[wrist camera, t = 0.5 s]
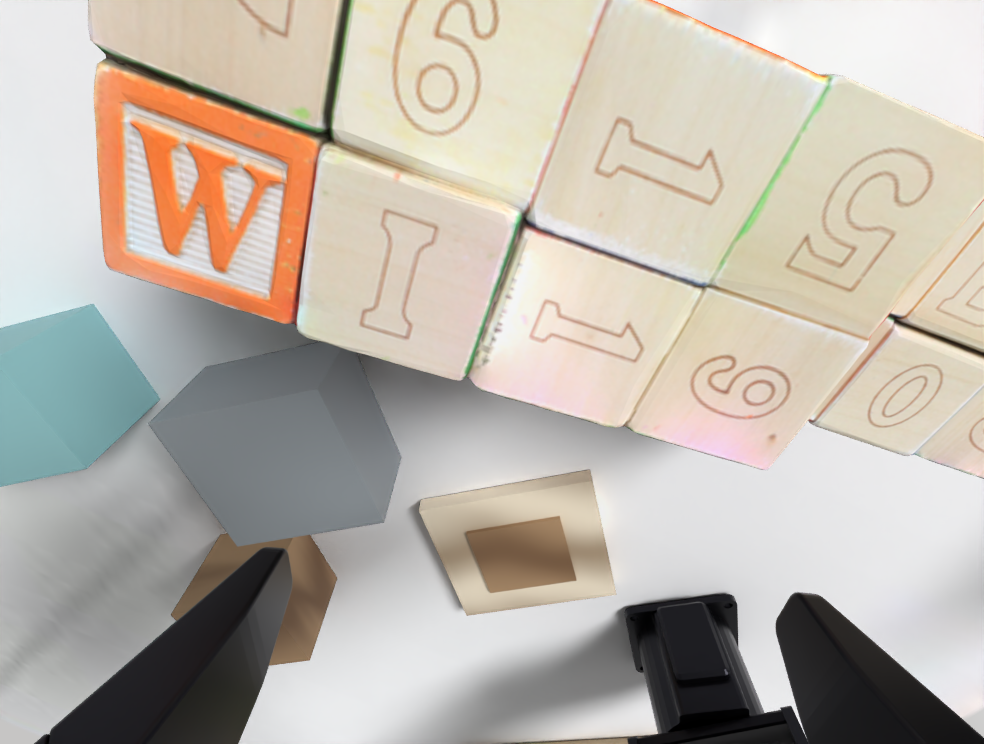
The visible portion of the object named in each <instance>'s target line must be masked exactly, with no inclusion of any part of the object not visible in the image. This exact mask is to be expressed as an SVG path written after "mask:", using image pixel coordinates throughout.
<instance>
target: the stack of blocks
mask: <svg viewBox="0 0 984 744" xmlns="http://www.w3.org/2000/svg"><path fill="white" fill-rule="evenodd" d="M88 27H89V34H90V40H91V41H92V42H93V43H94V44H95V45H97V46H98V47H99V48H100V49H101V50H102V51H103V52H104V53H105V54H106V59H104V60H103V61H101V62H99V63H98V64H97V69H96V75H95V85H94V109H95V122H96V140H97V159H98V178H99V193H100V208H101V223H102V238H103V250H104V257H105V262H106V265H107V266H108V268H109V269H110V270H113V271H116V272H119V273H122V274H125V275H128V276H131V277H134V278H137V279H140V280H144V281H147V282H150V283H154V284H157V285H160V286H164V287H167V288H170V289H173V290H177V291H180V292H183V293H187V294H190V295H193V296H197V297H200V298H203V299H206V300H209V301H212V302H215V303H218V304H221V305H224V306H227V307H230V308H233V309H238V310H241V311H245V312H248V313H251V314H254V315H257V316H261V317H264V318H267V319H270V320H273V321H276V322H280V323H283V324H287V323H295V325H296V326H297V330H298V331H299V333H301V334H302V335H304V336H305V337H306V338H309V339H313V340H317V341H321V342H325V343H328V344H331V345H334V346H337V347H340V348H343V349H346V350H349V351H353V352H357V353H362V354H366V355H369V356H372V357H375V358H379V359H382V360H385V361H388V362H392V363H395V364H398V365H402V366H405V367H408V368H412V369H415V370H419V371H423V372H426V373H430V374H434V375H437V376H441V377H444V378H448V379H452V380H458V381H460V380H463V379H465V378H470V380H471V382H472V383H473V384H474V385H475V386H476V387H478V388H479V389H480V390H481V391H485V392H490V393H494V394H496V395H499V396H502V397H505V398H508V399H512V400H516V401H520V402H524V403H528V404H531V405H534V406H538V407H541V408H544V409H547V410H551V411H555V412H559V413H562V414H566V415H569V416H573V417H576V418H579V419H583V420H586V421H589V422H593V423H596V424H599V425H603V426H606V427H614V428H615V427H622V426H626V427H627V428H629V429H630V430H632V431H633V432H635V433H638V434H640V435H644V436H647V437H651V438H654V439H658V440H661V441H664V442H668V443H671V444H675V445H678V446H682V447H685V448H689V449H692V450H695V451H699V452H702V453H705V454H709V455H712V456H716V457H719V458H723V459H726V460H730V461H734V462H737V463H741V464H745V465H748V466H751V467H754V468H758V469H761V470H768V469H769V468H770V467H771V465H772V464H773V463H774V462H775V460H776V459H777V458H778V457H779V455H780V454H781V453H782V452H783V450H784V449H785V448H786V447H787V446H788V444H789V443H790V442H791V441H792V439H793V438H794V437H795V436H796V434H797V433H798V432H799V431H800V430H801V428H802V427H803V426H804V425H805V423H806V422H807V421H809V422H810V423H811V424H813V425H815V426H817V427H820V428H823V429H825V430H828V431H831V432H834V433H837V434H840V435H843V436H846V437H849V438H852V439H855V440H858V441H861V442H864V443H867V444H870V445H873V446H876V447H879V448H882V449H886V450H889V451H892V452H895V453H898V454H901V455H904V456H910V455H914V454H915V455H917V456H919V457H922V458H924V459H927V460H929V461H932V462H935V463H938V464H941V465H944V466H947V467H950V468H954V469H956V470H959V471H962V472H965V473H967V474H970V475H975V476H977V477H980V478H983V479H984V137H982V136H980V135H977V134H975V133H973V132H971V131H968V130H966V129H964V128H961V127H959V126H957V125H955V124H952V123H950V122H948V121H946V120H943V119H941V118H939V117H937V116H934V115H932V114H930V113H927V112H925V111H923V110H920V109H918V108H915V107H913V106H911V105H908V104H906V103H903V102H901V101H899V100H896V99H894V98H892V97H890V96H887V95H885V94H883V93H881V92H878V91H876V90H874V89H872V88H869V87H867V86H865V85H863V84H860V83H858V82H856V81H854V80H851V79H849V78H847V77H845V76H841V75H834V74H816V73H814V72H812V71H810V70H808V69H806V68H804V67H802V66H800V65H798V64H796V63H793V62H791V61H789V60H787V59H785V58H783V57H781V56H779V55H776V54H774V53H772V52H769V51H767V50H765V49H763V48H760V47H758V46H756V45H754V44H751V43H749V42H747V41H744V40H742V39H740V38H738V37H735V36H733V35H731V34H728V33H726V32H723V31H721V30H718V29H716V28H713V27H711V26H709V25H707V24H705V23H703V22H701V21H698V20H696V19H694V18H692V17H690V16H688V15H685V14H683V13H681V12H679V11H676V10H674V9H672V8H670V7H667V6H665V5H663V4H660V3H658V2H656V1H653V0H88Z"/></svg>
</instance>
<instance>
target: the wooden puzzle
mask: <svg viewBox="0 0 984 744" xmlns="http://www.w3.org/2000/svg"><path fill="white" fill-rule="evenodd" d="M642 737H645V736H642ZM627 738H630V737H626V738H609V739H591V740H573V741H556V742H538V743H519V744H628V741H627ZM638 738H640V737H638Z"/></svg>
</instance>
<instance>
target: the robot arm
mask: <svg viewBox="0 0 984 744" xmlns="http://www.w3.org/2000/svg"><path fill="white" fill-rule="evenodd" d="M292 583H293V579H292V572H291V566H290V559H289V554H288V551H287V550H286V549H284V548H275V547H264V548H261V549H260V550H258V551H257V552H256V553H255V554H254V555H252V556H251V557H250V558H249V559H248V560H247V561H245V562H244V563H243V564H242V565H241V566H240V567H239V568H237V569H236V570H235V571H234V572H233V573H232V574H230V575H229V576H228V577H227V578H226V579H225V580H223V581H222V582H221V583H220V584H219V585H218V586H217V587H215V588H214V589H213V590H212V591H211V592H210V593H208V594H207V595H206V596H205V597H204V598H203V599H201V600H200V601H199V602H198V603H197V604H196V605H194V606H193V607H192V608H191V609H190V610H189V611H188V612H186V613H185V614H184V615H183V616H182V617H181V618H179V619H178V620H177V621H176V622H175V623H174V624H172V625H171V626H170V627H169V628H168V629H167V630H166V631H164V632H163V633H162V634H161V635H160V636H159V637H157V638H156V639H155V640H154V641H153V642H152V643H150V644H149V645H148V646H147V647H146V648H145V649H144V650H142V651H141V652H140V653H139V654H138V655H137V656H135V657H134V658H133V659H132V660H131V661H130V662H128V663H127V664H126V665H125V666H124V667H123V668H122V669H120V670H119V671H118V672H117V673H116V674H115V675H113V676H112V677H111V678H110V679H109V680H108V681H106V682H105V683H104V684H103V685H102V686H101V687H99V688H98V689H97V690H96V691H95V692H94V693H93V694H91V695H90V696H89V697H88V698H87V699H86V700H84V701H83V702H82V703H81V704H80V705H79V706H77V707H76V708H75V709H74V710H73V711H72V712H71V713H69V714H68V715H67V716H66V717H65V718H64V719H62V720H61V721H60V722H59V723H58V724H57V725H55V726H54V727H53V728H52V729H51V731H50V735H49V734H46V735H44V736H42V737H41V738H40V739H39V740H38V741H37V742H35V743H34V744H238V743H239V740H240V738H241V736H242V733H243V731H244V729H245V726H246V724H247V721H248V719H249V717H250V714H251V712H252V709H253V707H254V705H255V702H256V700H257V697H258V695H259V692H260V690H261V687H262V684H263V682H264V679H265V676H266V673H267V669H268V666H269V663H270V660H271V656H272V653H273V650H274V647H275V643H276V640H277V637H278V633H279V630H280V627H281V624H282V620H283V617H284V614H285V610H286V607H287V604H288V600H289V597H290V594H291V590H292ZM625 618H626V623H627V628H628V633H629V638H630V642H631V647H632V652H633V657H634V662H635V667H636V670H637V671H638V672H644V674H645V679H646V683H647V687H648V692H649V696H650V700H651V705H652V709H653V713H654V718H655V722H656V726H657V731H658V734H656V735H650V736H645V737H640V738H638V737H637V736H635V737H630V738H627V741H628V744H984V738H983V737H982V736H981V735H980V734H979V733H978V732H976V731H975V730H974V729H973V728H972V727H971V726H970V725H969V724H967V723H966V722H965V721H964V720H963V719H962V718H960V717H959V716H958V715H957V714H956V713H955V712H954V711H952V710H951V709H950V708H949V707H948V706H947V705H946V704H944V703H943V702H942V701H941V700H940V699H939V698H938V697H936V696H935V695H934V694H933V693H932V692H931V691H930V690H928V689H927V688H926V687H925V686H924V685H923V684H922V683H920V682H919V681H918V680H917V679H916V678H915V677H913V676H912V675H911V674H910V673H909V672H908V671H907V670H905V669H904V668H903V667H902V666H901V665H900V664H899V663H897V662H896V661H895V660H894V659H893V658H892V657H891V656H889V655H888V654H887V653H886V652H885V651H884V650H883V649H881V648H880V647H879V646H878V645H877V644H876V643H875V642H873V641H872V640H871V639H870V638H869V637H868V636H866V635H865V634H864V633H863V632H862V631H861V630H860V629H858V628H857V627H856V626H855V625H854V624H853V623H852V622H850V621H849V620H848V619H847V618H846V617H845V616H844V615H842V614H841V613H840V612H839V611H838V610H837V609H836V608H834V607H833V606H832V605H831V604H830V603H829V602H827V601H826V600H825V599H824V598H823V597H821V596H819V595H817V594H811V593H800V592H797V593H794V594H792V595H791V596H790V598H789V599H788V601H787V603H786V604H785V606H784V608H783V609H782V611H781V613H780V614H779V616H778V618H777V620H776V634H777V638H778V642H779V645H780V649H781V652H782V656H783V660H784V663H785V667H786V670H787V674H788V678H789V681H790V685H791V688H792V692H793V696H794V699H795V703H796V706H797V710H798V713H799V717H800V720H801V723H802V726H803V729H804V732H805V734H804V732H803V730H802V728H801V726H800V724H799V722H798V719H797V717H796V715H795V713H794V711H793V709H792V707H791V706H787V707H782V708H780V709H781V710H778V711H773V712H767V713H764V710H763V708H762V705H761V703H760V701H759V698H758V696H757V693H756V691H755V688H754V686H753V683H752V681H751V678H750V676H749V673H748V671H747V668H746V666H745V664H744V661H743V659H742V656H741V654H740V651H739V649H738V618H737V603H736V601H735V598H734V596H732V595H729V594H726V595H718V596H711V597H703V598H696V599H689V600H681V601H674V602H667V603H659V604H652V605H645V606H637V607H631V608H628V609H626V610H625ZM805 735H806V736H805ZM806 737H807V738H806ZM807 740H808V741H807Z"/></svg>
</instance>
